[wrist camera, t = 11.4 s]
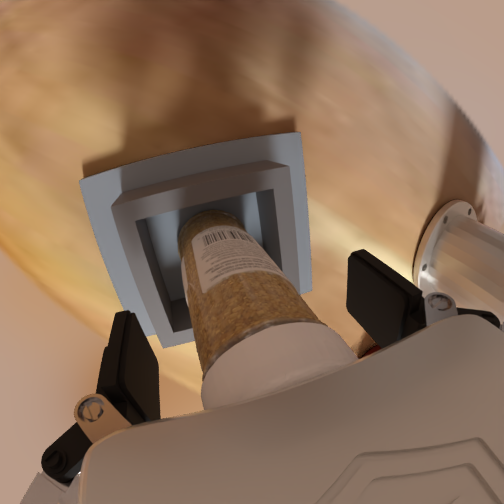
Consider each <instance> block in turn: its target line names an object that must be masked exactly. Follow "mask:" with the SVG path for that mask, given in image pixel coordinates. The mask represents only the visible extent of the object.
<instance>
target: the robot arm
mask: <svg viewBox="0 0 504 504" xmlns="http://www.w3.org/2000/svg"><path fill="white" fill-rule="evenodd" d="M413 279H414V284H412V283H411V282H410V281H408V280H407V279H406V278H404V277H403V276H402V275H400V274H399V273H397V272H396V271H395V270H393V269H392V268H390V267H389V266H388V265H386V264H385V263H383V262H382V261H380V260H379V259H378V258H376V257H375V256H373V255H372V254H370V253H369V252H367V251H366V250H364V249H361V250H358V251H355V252H352V253H351V256H349V258H348V279H347V301H346V307H347V310H348V312H349V313H350V314H351V315H352V316H353V317H354V319H355V320H356V321H357V322H358V323H359V324H360V325H361V326H362V327H363V328H364V329H365V331H366V332H367V333H368V334H369V335H370V336H371V337H372V338H373V339H374V341H375V342H376V343H377V344H378V345H379V346H380V347H381V348H382V349H381V350H378V351H376V352H374V353H372V354H370V355H368V356H365V357H363V358H361V359H359V360H356V361H354V362H352V363H349V364H347V365H345V366H342V367H340V368H337V369H335V370H332V371H330V372H327V373H325V374H322V375H320V376H317V377H314V378H312V379H309V380H306V381H303V382H300V383H298V384H295V385H292V386H289V387H286V388H283V389H280V390H277V391H274V392H270V393H267V394H264V395H261V396H257V397H254V398H250V399H247V400H243V401H239V402H236V403H232V404H228V405H224V406H220V407H216V408H211V409H207V410H203V411H199V412H194V413H189V414H184V415H180V416H175V417H169V418H164V419H161V418H160V400H159V399H160V398H159V365H158V361H157V358H156V356H155V354H154V352H153V350H152V348H151V346H150V344H149V342H148V340H147V338H146V336H145V334H144V332H143V329H142V327H141V325H140V323H139V321H138V318H137V316H136V314H135V313H134V312H133V313H131V312H130V311H129V310H126V311H121V312H117V313H116V314H115V317H114V321H113V325H112V330H111V334H110V338H109V343H108V346H107V347H105V349H104V353H103V357H102V362H101V368H100V372H99V378H98V384H97V389H96V394H90V395H87V396H85V397H83V398H82V399H81V400H80V401H79V402H78V403H77V405H76V406H75V409H74V417H75V420H76V421H77V422H76V423H75V424H74V425H73V426H72V427H71V428H70V429H69V430H67V431H66V432H65V433H64V434H63V435H62V436H61V437H59V438H58V439H57V440H56V441H55V442H54V443H53V444H52V445H51V446H49V447H48V448H47V449H46V450H45V452H44V454H43V456H42V461H41V464H42V468H43V472H42V473H39V472H38V473H37V475H36V477H35V478H34V480H33V482H32V483H31V485H30V487H29V489H28V490H27V492H26V494H25V495H24V497H23V499H22V501H21V503H20V504H504V234H503V233H501V232H499V231H497V230H495V229H492V228H490V227H488V226H486V225H484V224H482V223H480V222H478V221H477V217H476V213H475V210H474V209H473V207H472V206H471V205H470V204H469V203H467V202H465V201H462V200H457V199H456V200H453V201H450V202H448V203H447V204H445V205H444V206H443V207H442V208H441V209H440V210H439V211H438V212H437V213H436V215H435V216H434V217H433V219H432V220H431V222H430V224H429V225H428V227H427V229H426V231H425V233H424V235H423V237H422V240H421V242H420V245H419V248H418V251H417V255H416V258H415V264H414V274H413Z"/></svg>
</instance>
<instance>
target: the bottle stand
mask: <svg viewBox="0 0 504 504" xmlns="http://www.w3.org/2000/svg"><path fill="white" fill-rule="evenodd" d="M79 184H80V187H81V191H82V195H83V199H84V202H85V206H86V209H87V212H88V216H89V219H90V222H91V225H92V229H93V232H94V235H95V238H96V241H97V243H98V246H99V249H100V252H101V255H102V257H103V260H104V263H105V265H106V268H107V271H108V273H109V276H110V278H111V281H112V283H113V286H114V288H115V290H116V293H117V295H118V298H119V300H120V302H121V304H122V307H123V309H124V311H126V310H129V311H130V312H131V313H133V312H134V313H135V314H136V316H137V318H138V321H139V323H140V325H141V327H142V329H143V332H144V334H145V336H150V335H155V334H157V336H158V338H159V341H160V343H161V345H162V347H163V348H167V347H171V346H176V345H180V344H184V343H188V342H192V341H195V338H194V333H193V327H192V323H191V317H190V311H189V307H188V305H187V301H186V297H185V291H184V286H183V279H182V271H181V259H180V257H179V254H178V238H179V234H180V231H181V229H182V227H183V226H184V225H185V224H186V223H187V222H188V220H189V219H190V218H192V217H193V216H195V215H197V214H198V213H200V212H203V211H208V210H222V211H225V212H229V213H231V214H232V215H234V216H235V217H237V218H238V219H239V220H240V221H241V223H242V224H243V225H244V228H245V230H246V232H247V233H248V234H250V235H251V236H252V237H253V238H254V239H255V240H256V241H257V243H258V244H259V245H260V246H261V247H262V248H263V249H264V251H265V252H266V253H267V254H268V255H269V257H270V258H271V259H272V260H273V261H274V262H275V264H276V265H277V266H278V267H279V268H280V270H281V271H282V272H283V273H284V275H285V276H286V277H287V278H288V279H289V280H290V282H291V283H292V284H293V285H294V287H295V288H296V290H297V292H298V294H299V295H300V294H303V293H306V292H310V291H312V271H311V249H310V232H309V217H308V203H307V191H306V180H305V169H304V159H303V150H302V141H301V132H289V133H280V134H272V135H264V136H257V137H250V138H244V139H238V140H232V141H226V142H220V143H215V144H210V145H204V146H200V147H195V148H190V149H185V150H181V151H177V152H172V153H168V154H164V155H160V156H156V157H152V158H148V159H144V160H141V161H137V162H134V163H130V164H127V165H123V166H120V167H116V168H113V169H110V170H107V171H104V172H101V173H97V174H94V175H91V176H88V177H86V178H83V179H81V180H79Z"/></svg>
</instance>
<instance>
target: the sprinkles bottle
mask: <svg viewBox="0 0 504 504" xmlns="http://www.w3.org/2000/svg"><path fill="white" fill-rule="evenodd" d="M178 254H179V257H180V259H181V271H182V279H183V286H184V291H185V297H186V301H187V305H188V307H189V311H190V317H191V323H192V327H193V333H194V338H195V343H196V348H197V352H198V356H199V360H200V364H201V369H202V371H203V377H202V381H203V384H202V389H201V399H202V402H203V407H204V410H207V409H211V408H216V407H220V406H224V405H228V404H232V403H236V402H239V401H243V400H247V399H250V398H254V397H257V396H261V395H264V394H267V393H270V392H274V391H277V390H280V389H283V388H286V387H289V386H292V385H295V384H298V383H300V382H303V381H306V380H309V379H312V378H314V377H317V376H320V375H322V374H325V373H327V372H330V371H332V370H335V369H337V368H340V367H342V366H345V365H347V364H349V363H352V362H354V361H356V360H359V359H358V357H357V356H356V355H355V354H354V352H353V351H352V350H351V349H350V347H349V346H348V345H347V344H346V342H345V341H344V340H343V339H342V338H341V336H340V335H339V334H338V333H337V332H335V331H334V330H332V329H331V328H329V327H328V326H327V325H326V324H324V323H323V322H321V321H320V320H319V319H318V318H317V316H316V315H315V314H314V313H313V311H312V310H311V309H310V308H309V307H308V305H307V304H306V302H305V301H304V300H303V299H302V298H301V296H300V295H299V294H298V292H297V290H296V288H295V287H294V285H293V284H292V283H291V282H290V280H289V279H288V278H287V277H286V276H285V275H284V273H283V272H282V271H281V270H280V268H279V267H278V266H277V265H276V264H275V262H274V261H273V260H272V259H271V258H270V257H269V255H268V254H267V253H266V252H265V251H264V249H263V248H262V247H261V246H260V245H259V244H258V243H257V241H256V240H255V239H254V238H253V237H252V236H251V235H250V234H248V233H247V232H246V230H245V228H244V225H243V224H242V223H241V221H240V220H239V219H238V218H237V217H235V216H234V215H232V214H231V213H229V212H225V211H222V210H208V211H203V212H200V213H198V214H197V215H195V216H193V217H192V218H190V219H189V220H188V222H187V223H186V224H185V225H184V226H183V227H182V229H181V231H180V234H179V238H178Z"/></svg>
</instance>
